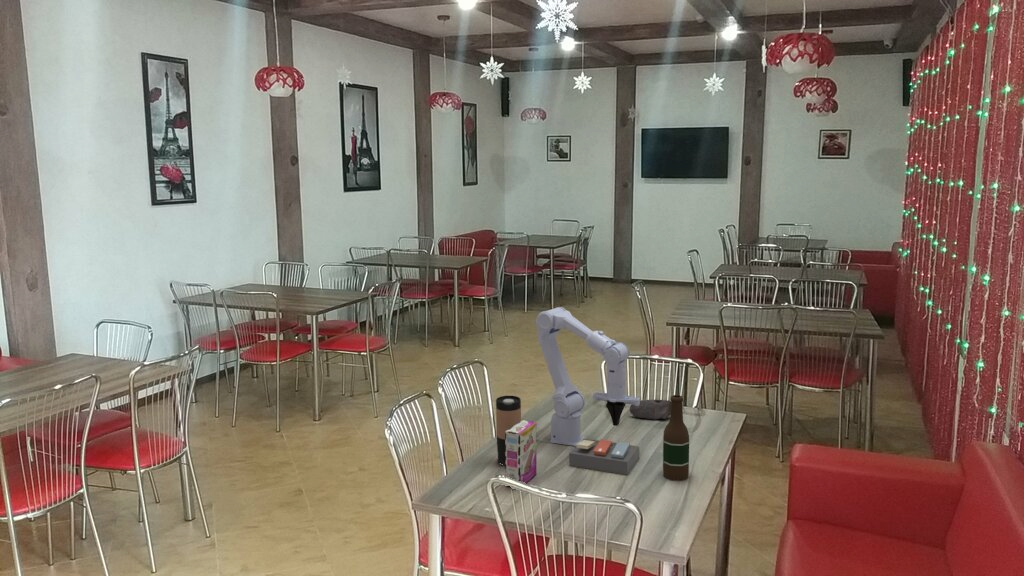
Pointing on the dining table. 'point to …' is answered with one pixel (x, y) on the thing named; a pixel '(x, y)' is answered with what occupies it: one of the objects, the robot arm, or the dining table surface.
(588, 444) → the block
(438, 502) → the dining table surface
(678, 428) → the beer bottle
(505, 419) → the travel mug
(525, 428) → the candy bar box
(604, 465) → the rocker switch panel
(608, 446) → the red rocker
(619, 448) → the slate rocker
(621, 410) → the robot arm
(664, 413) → the perforated stone tool
